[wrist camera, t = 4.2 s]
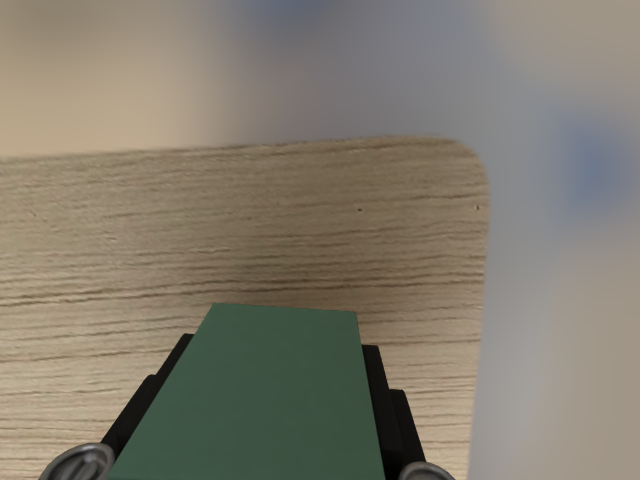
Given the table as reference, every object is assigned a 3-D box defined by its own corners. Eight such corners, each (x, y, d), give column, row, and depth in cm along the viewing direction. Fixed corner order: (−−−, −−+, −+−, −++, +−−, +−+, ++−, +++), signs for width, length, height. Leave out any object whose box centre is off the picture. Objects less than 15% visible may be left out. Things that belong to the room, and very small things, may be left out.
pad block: (213, 302, 11) (105, 475, 6) (355, 310, 12) (388, 492, 6) (216, 417, 13) (130, 651, 7) (343, 424, 13) (360, 663, 7)
